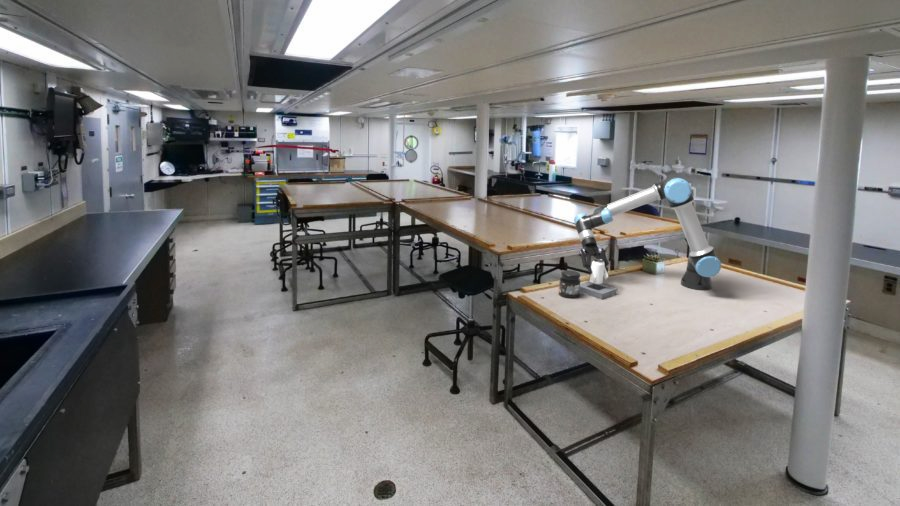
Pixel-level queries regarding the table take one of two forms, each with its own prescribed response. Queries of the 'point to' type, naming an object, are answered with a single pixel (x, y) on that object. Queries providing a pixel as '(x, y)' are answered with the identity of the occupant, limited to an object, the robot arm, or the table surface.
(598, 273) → the can
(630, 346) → the table surface
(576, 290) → the supplement container
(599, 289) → the socket plate
